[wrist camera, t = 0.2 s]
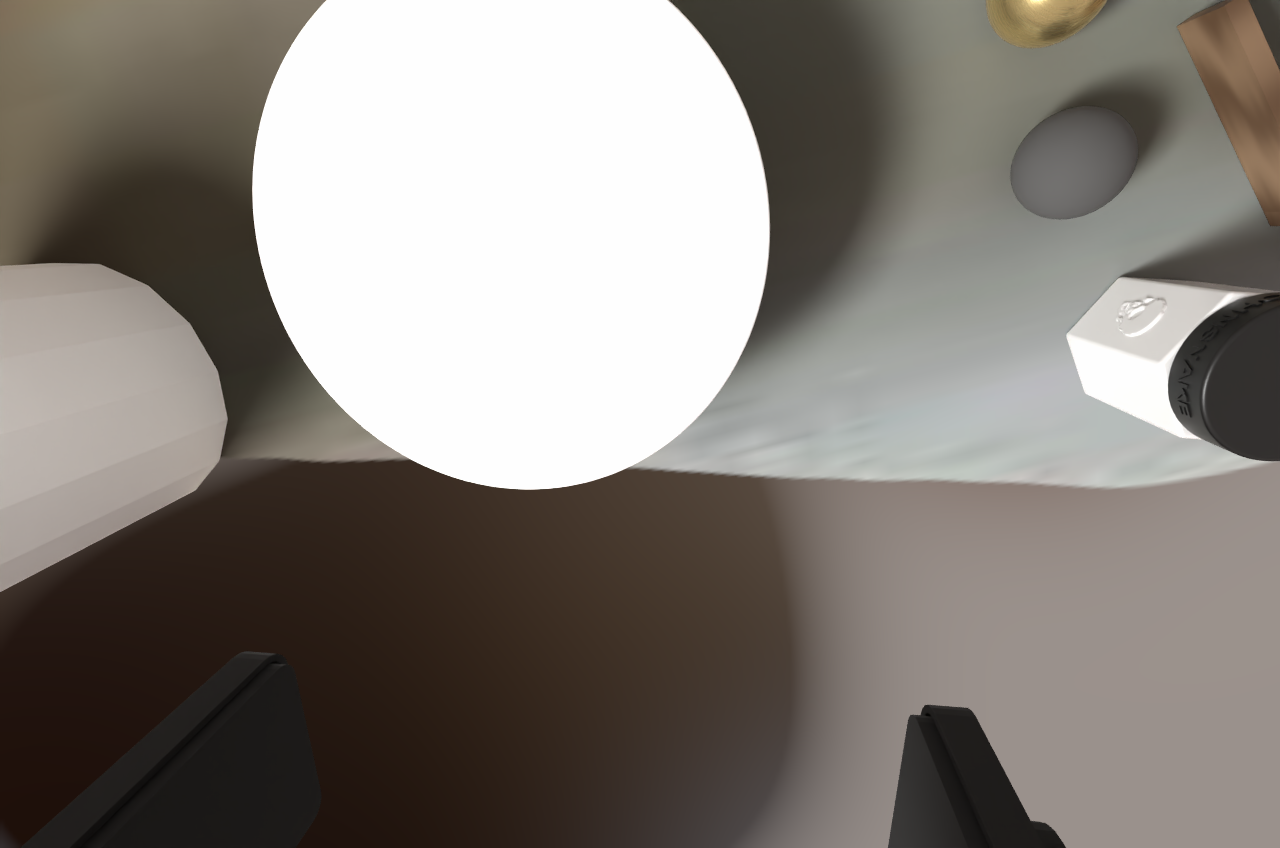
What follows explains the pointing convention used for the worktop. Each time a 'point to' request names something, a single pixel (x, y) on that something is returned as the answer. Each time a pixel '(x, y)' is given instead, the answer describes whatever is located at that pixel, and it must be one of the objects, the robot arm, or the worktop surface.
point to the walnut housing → (1241, 90)
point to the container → (95, 410)
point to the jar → (1187, 360)
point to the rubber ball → (1074, 162)
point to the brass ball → (1040, 20)
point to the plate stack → (512, 228)
